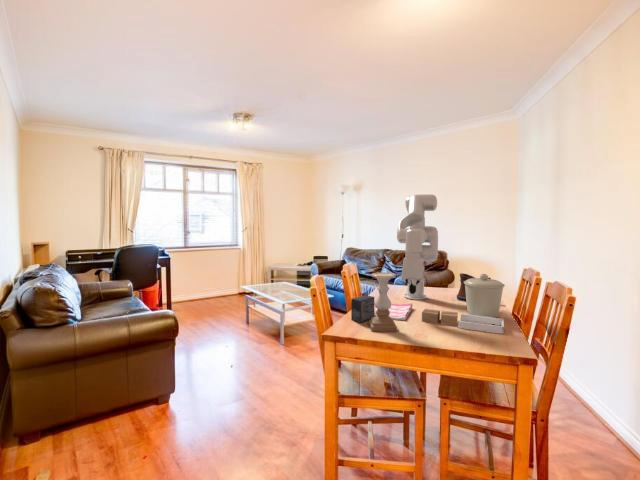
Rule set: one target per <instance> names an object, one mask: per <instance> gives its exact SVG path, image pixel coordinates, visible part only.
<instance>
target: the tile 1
mask: <svg viewBox="0 0 640 480" xmlns="http://www.w3.org/2000/svg"><path fill="white" fill-rule="evenodd" d="M439 321H441V310H438V309H431V308H424V309H423V310H422V311H421V322H424V323H432V324H438V323H439Z"/></svg>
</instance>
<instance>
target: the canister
mask: <svg viewBox="0 0 640 480" xmlns="http://www.w3.org/2000/svg"><path fill="white" fill-rule="evenodd" d="M488 278H489V275H488V274H486V273H481V274H480V275H479V277H475V278H471V279H468V280H466V281H464V284H465V291H466V301H465V302H466V303H465V304H466V310H467V312H468V313H467V314H468V315H476V316H484V317H492V318H498V316H499V312H500V308H501V302H502V295H503V291H504V288H505V286H506V285H505V283H503V282H502V281H499V280H496V279H492V278H491V279H488Z"/></svg>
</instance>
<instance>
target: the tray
mask: <svg viewBox="0 0 640 480" xmlns="http://www.w3.org/2000/svg"><path fill="white" fill-rule="evenodd" d="M504 320H505V319H504V318H498V317H496V318H492V317H484V316H476V315H469V314H468V313H466V314H465V313H461V314H460V320H458V322H457V326H458V329H466V330H471V331H479V332H485V331H486V332H487V333H493V334H500V333H501V335H504V334H505V322H504ZM485 323H486V324H485ZM492 324H495V325H492ZM500 325H501V326H500Z"/></svg>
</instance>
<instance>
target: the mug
mask: <svg viewBox="0 0 640 480" xmlns="http://www.w3.org/2000/svg"><path fill="white" fill-rule="evenodd" d="M459 277H460V280H459V281H460V286H459V290H458V293H457V294H456V300H458V301H459V302H466V291H465V284H464V281H466V280H468V279H471V278H476V277H475V276H473V275H470V274H468V273H461V272H460V273H459ZM488 279H492V278H491V277H489V276H488Z"/></svg>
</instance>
